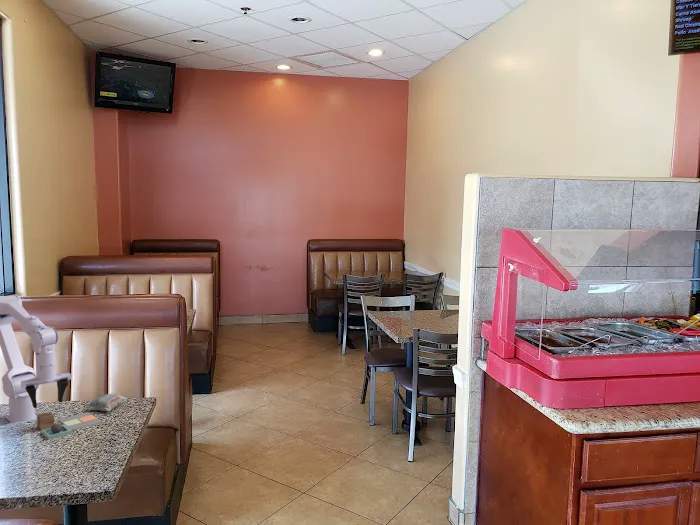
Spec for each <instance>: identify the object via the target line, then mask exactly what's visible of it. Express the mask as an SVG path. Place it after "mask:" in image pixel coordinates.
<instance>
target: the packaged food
mask: <svg viewBox="0 0 700 525" xmlns="http://www.w3.org/2000/svg"><path fill="white" fill-rule="evenodd" d="M128 399H129V397H128V396H122V395H119V394H117V393H106V394H103V395H102V396H100V397H97V398H95V399H94V400H92V401H91V402H90V403H89V405H88V411H95V412H97V411H100V412H111V411H113V410H114V409H115V408H116V409H117V407H119V406H120V405H121V404H124V403H125V401H127V400H128Z"/></svg>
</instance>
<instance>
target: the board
mask: <svg viewBox="0 0 700 525" xmlns="http://www.w3.org/2000/svg"><path fill="white" fill-rule="evenodd" d="M58 422H60V423H61V425H64V424H65V425H66V426H67V427H68V428H69V429H71V430H72V431H76V430H78V429H79V430H80V429H83V428H87V427H90V426H93V425H94V426H95V425H98V424H102V423H103V422H102V421H101V420H100V419H98V418H97V417H95V416H94V415H93V414H92V413H90V412H86V413H82V414H78V415H73V416H69V417H64V418H61V419H58Z"/></svg>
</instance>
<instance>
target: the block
mask: <svg viewBox="0 0 700 525" xmlns="http://www.w3.org/2000/svg"><path fill="white" fill-rule="evenodd" d="M36 415H37V419H36V423H37V428H38V430H40V431H41V430H44V429H48V428H51V427H52V425H54V424H55V414H53V413H52V412H51V411H48V412H43V413H40V414H36Z"/></svg>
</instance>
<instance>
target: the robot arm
mask: <svg viewBox="0 0 700 525" xmlns="http://www.w3.org/2000/svg"><path fill="white" fill-rule="evenodd" d="M14 320H16V321H18V322H19V323H20V329H21V330H22V331H23V332H24V333H25V334H26V335H27V336H28V337H29V338H30V344H31V346H32V351H33V353H34V354H35V355H34V356H35V357H34V358H35V369H34V368H33V367H31V366H29V365H26V364H25V363H24V362H25V361H24V359H23V357H22V352H21V350H20V347H19V345H18V342H17V338H16V336H15V333H14V332H15V331H14V330H13V327H12V322H13V321H14ZM58 341H59V333H58V330H56V328H55V327H54V326H49V325H48V326H47V325H45V324H44V323H43V322H42V321H41V319H39V318H38V317H37V316H36V315H30V314H29V313H28V311H27V310H26V309H25V308H24V307H23V301H22V298H21V297H20V296H19V295H18V294H10V295H4V296H0V350H1V354H2V355H3V359H4V361H5V365H6V367H7V368H6V369H7V370H6V372H5V373H4V375H3V376H2V377H1V381H2V389H3V390H2V391H3V393H4V394H5V396H6V397H7V398H8V412H9V415H6V419H7V420H8V421H9V422H10V423H11V424H12V425H17V424H20V423H24V422H29V421H33V420H34V421H35V420H37V415H38V414H36V408H37V407H38V403H37V390H38V389H39V387H40V385H46V384H49V383H50V384H51V383H55V382H56V387H57V401H58V402H59V403H63V397H64V394H65V391H66V389H67V387H68V386H69V380H72V374H71V373H70V372H64V373H57V371H56V368H57V367H56V364H57V363H56V347H55V345H56V344H57V343H58Z"/></svg>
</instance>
